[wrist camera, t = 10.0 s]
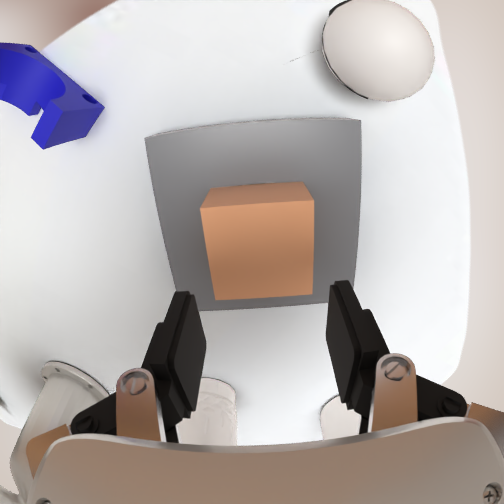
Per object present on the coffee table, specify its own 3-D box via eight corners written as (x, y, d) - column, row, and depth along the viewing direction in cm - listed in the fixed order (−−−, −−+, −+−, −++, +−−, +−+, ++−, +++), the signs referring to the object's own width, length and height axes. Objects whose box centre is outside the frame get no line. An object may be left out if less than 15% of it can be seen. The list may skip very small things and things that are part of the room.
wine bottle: (354, 379, 33) (398, 601, 6) (395, 394, 35) (441, 574, 8) (305, 414, 36) (321, 608, 10) (348, 425, 39) (374, 590, 12)
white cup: (251, 401, 35) (250, 469, 26) (201, 412, 36) (192, 473, 27) (219, 367, 31) (211, 444, 23) (166, 381, 33) (149, 449, 24)
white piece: (394, 18, 15) (444, -6, 8) (406, 103, 18) (462, 108, 12) (267, 13, 16) (273, -28, 9) (281, 104, 19) (295, 102, 12)
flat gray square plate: (343, 280, 26) (351, 300, 23) (188, 290, 26) (182, 311, 24) (347, 118, 19) (360, 120, 17) (158, 133, 20) (144, 137, 17)
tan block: (298, 245, 24) (312, 294, 18) (225, 249, 24) (215, 300, 18) (297, 172, 21) (314, 200, 15) (215, 178, 21) (200, 208, 15)
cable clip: (9, 85, 17) (-34, 90, 11) (30, 45, 15) (-13, 41, 10) (78, 150, 20) (34, 167, 15) (105, 107, 19) (63, 111, 14)
